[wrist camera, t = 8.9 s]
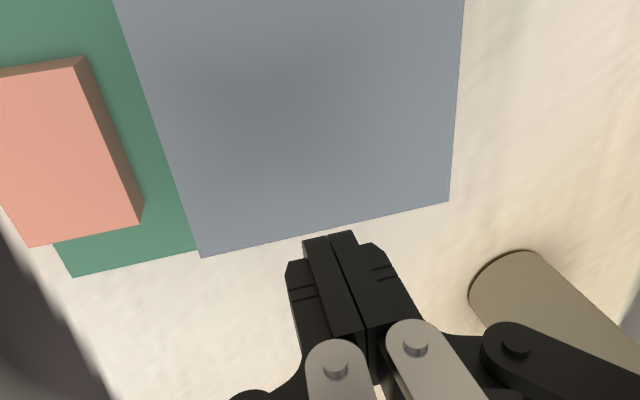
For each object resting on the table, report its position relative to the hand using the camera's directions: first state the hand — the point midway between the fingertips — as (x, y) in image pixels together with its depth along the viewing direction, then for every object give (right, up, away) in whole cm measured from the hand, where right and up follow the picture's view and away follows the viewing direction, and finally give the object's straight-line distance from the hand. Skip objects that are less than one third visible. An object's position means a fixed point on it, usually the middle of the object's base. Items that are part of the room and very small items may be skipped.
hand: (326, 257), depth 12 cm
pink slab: (-14, +4, +9) cm, 18 cm away
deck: (-1, +8, +13) cm, 15 cm away
